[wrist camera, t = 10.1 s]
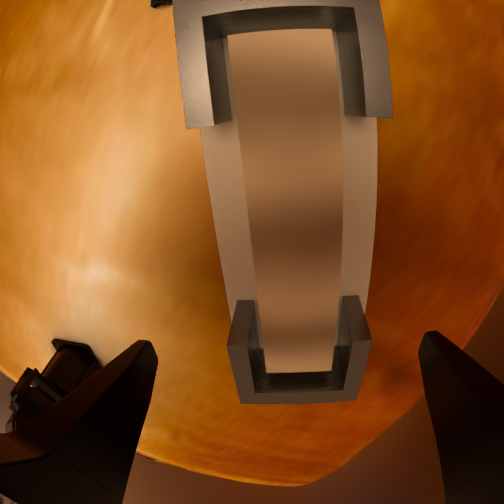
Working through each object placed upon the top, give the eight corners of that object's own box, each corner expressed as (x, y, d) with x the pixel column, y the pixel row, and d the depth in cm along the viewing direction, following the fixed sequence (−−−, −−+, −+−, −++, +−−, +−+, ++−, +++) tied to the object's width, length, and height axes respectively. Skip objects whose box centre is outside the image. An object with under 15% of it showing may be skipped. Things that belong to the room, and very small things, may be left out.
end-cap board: (353, 349, 24) (355, 361, 23) (242, 353, 25) (240, 365, 24) (357, 8, 12) (362, 1, 11) (193, 19, 13) (186, 12, 12)
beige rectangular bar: (326, 336, 22) (331, 370, 19) (269, 338, 22) (266, 372, 19) (321, 44, 12) (331, 28, 9) (238, 49, 13) (227, 35, 10)
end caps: (349, 356, 23) (356, 399, 19) (247, 360, 24) (240, 403, 20) (353, 10, 11) (375, -17, 7) (199, 20, 12) (171, -4, 8)
